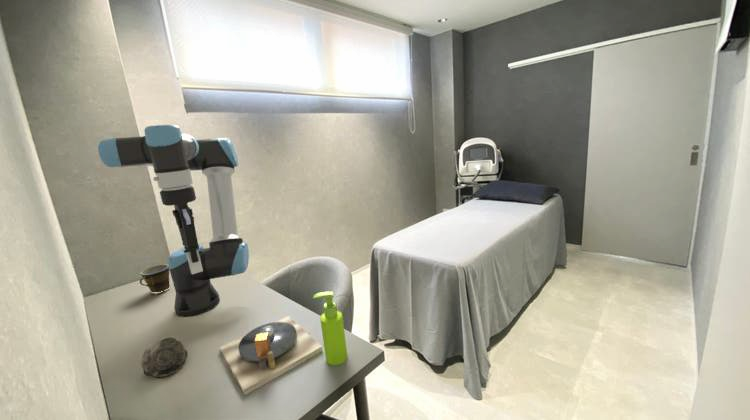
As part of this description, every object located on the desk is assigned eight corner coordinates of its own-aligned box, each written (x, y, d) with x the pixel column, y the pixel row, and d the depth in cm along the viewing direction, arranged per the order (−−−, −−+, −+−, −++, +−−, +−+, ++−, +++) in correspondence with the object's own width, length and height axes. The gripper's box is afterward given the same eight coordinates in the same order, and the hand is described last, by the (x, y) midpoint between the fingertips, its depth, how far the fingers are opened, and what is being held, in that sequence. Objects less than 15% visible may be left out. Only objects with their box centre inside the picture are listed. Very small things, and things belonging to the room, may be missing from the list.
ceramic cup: (159, 284, 142) (154, 264, 140) (179, 284, 141) (174, 264, 138) (134, 300, 130) (128, 278, 127) (156, 300, 128) (150, 278, 126)
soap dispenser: (323, 352, 90) (314, 289, 85) (347, 349, 91) (339, 286, 86) (321, 367, 85) (311, 300, 80) (347, 363, 85) (339, 297, 80)
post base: (220, 351, 94) (216, 334, 93) (289, 319, 107) (286, 304, 106) (244, 395, 78) (240, 374, 76) (322, 350, 91) (319, 332, 89)
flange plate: (246, 331, 98) (242, 312, 97) (298, 322, 101) (295, 304, 99) (230, 373, 81) (225, 352, 79) (294, 362, 83) (290, 340, 82)
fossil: (166, 383, 83) (142, 354, 81) (146, 393, 86) (122, 365, 84) (197, 353, 93) (176, 327, 91) (178, 363, 96) (157, 337, 94)
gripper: (156, 187, 83) (177, 269, 89) (162, 193, 74) (186, 284, 80) (187, 182, 88) (206, 261, 94) (198, 187, 78) (218, 274, 84)
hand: (197, 271), depth 87 cm, fingers closed
